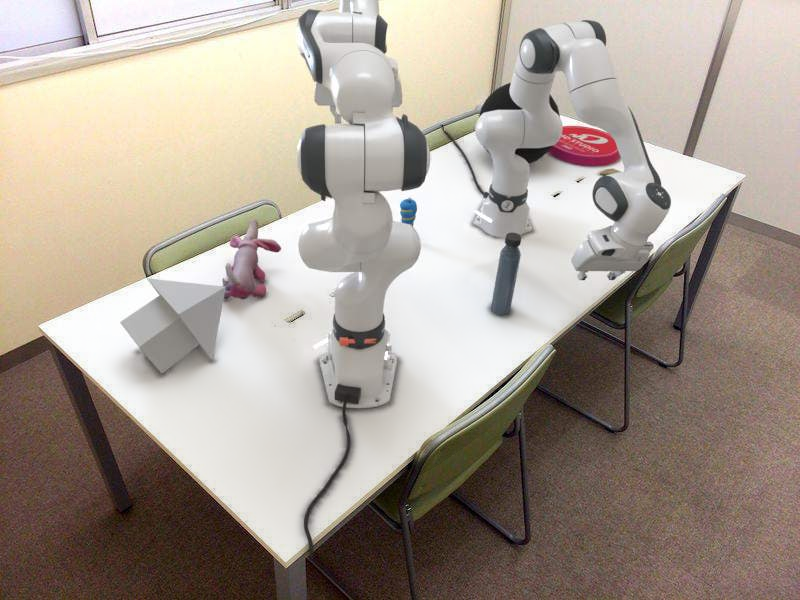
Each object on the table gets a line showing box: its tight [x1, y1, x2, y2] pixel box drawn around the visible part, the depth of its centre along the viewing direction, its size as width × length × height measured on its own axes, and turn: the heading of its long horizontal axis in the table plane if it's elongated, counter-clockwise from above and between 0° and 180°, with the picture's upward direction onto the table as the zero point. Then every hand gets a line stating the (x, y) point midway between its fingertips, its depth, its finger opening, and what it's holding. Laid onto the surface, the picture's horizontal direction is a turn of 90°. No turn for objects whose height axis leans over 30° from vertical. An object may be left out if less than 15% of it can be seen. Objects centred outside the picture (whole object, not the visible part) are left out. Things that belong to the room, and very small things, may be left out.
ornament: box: [399, 195, 418, 227], centre depth 199 cm, size 5×5×15 cm
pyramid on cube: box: [119, 277, 226, 374], centre depth 156 cm, size 17×24×18 cm
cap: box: [504, 233, 522, 248], centre depth 165 cm, size 4×4×2 cm
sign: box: [548, 125, 621, 167], centre depth 263 cm, size 30×4×30 cm
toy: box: [221, 218, 282, 301], centre depth 179 cm, size 19×24×15 cm
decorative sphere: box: [478, 82, 561, 165], centre depth 243 cm, size 30×30×30 cm
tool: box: [599, 167, 622, 176], centre depth 240 cm, size 22×6×5 cm, turn 26°
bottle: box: [490, 244, 522, 317], centre depth 171 cm, size 5×5×23 cm
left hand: (358, 123), depth 154 cm, fingers open, 8 cm apart
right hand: (595, 278), depth 170 cm, fingers open, 8 cm apart
